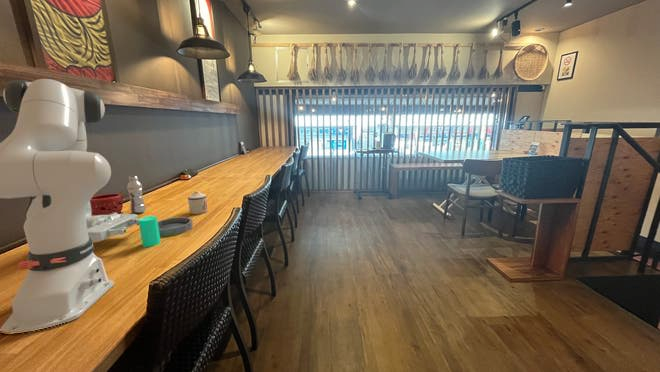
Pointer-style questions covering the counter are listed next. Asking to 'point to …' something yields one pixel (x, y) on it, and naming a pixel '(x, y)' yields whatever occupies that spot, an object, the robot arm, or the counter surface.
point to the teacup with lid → (197, 203)
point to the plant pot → (109, 202)
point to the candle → (149, 231)
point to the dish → (174, 226)
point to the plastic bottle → (135, 195)
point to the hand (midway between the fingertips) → (133, 226)
